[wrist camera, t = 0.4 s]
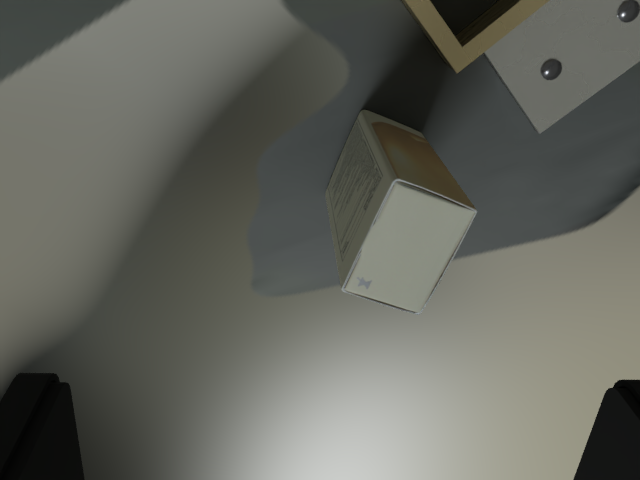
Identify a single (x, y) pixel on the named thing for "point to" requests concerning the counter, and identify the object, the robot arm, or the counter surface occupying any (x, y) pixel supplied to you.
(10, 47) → the counter surface
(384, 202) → the skincare box
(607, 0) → the wooden flat frame
